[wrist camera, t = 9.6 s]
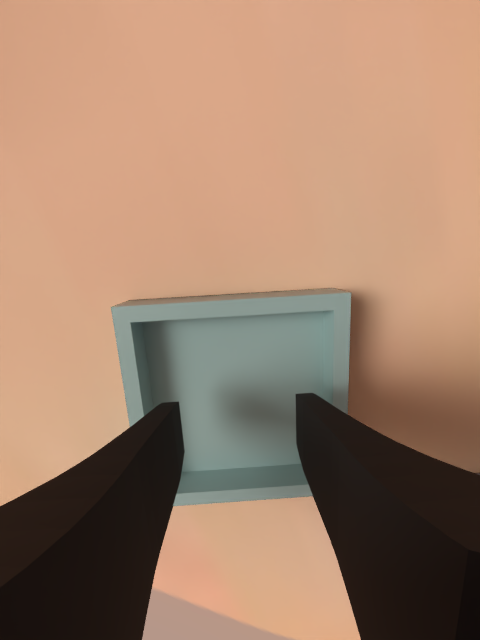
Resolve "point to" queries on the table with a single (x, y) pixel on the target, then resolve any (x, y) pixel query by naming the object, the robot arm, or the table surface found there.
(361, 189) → the table surface
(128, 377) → the tray
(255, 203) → the table surface
